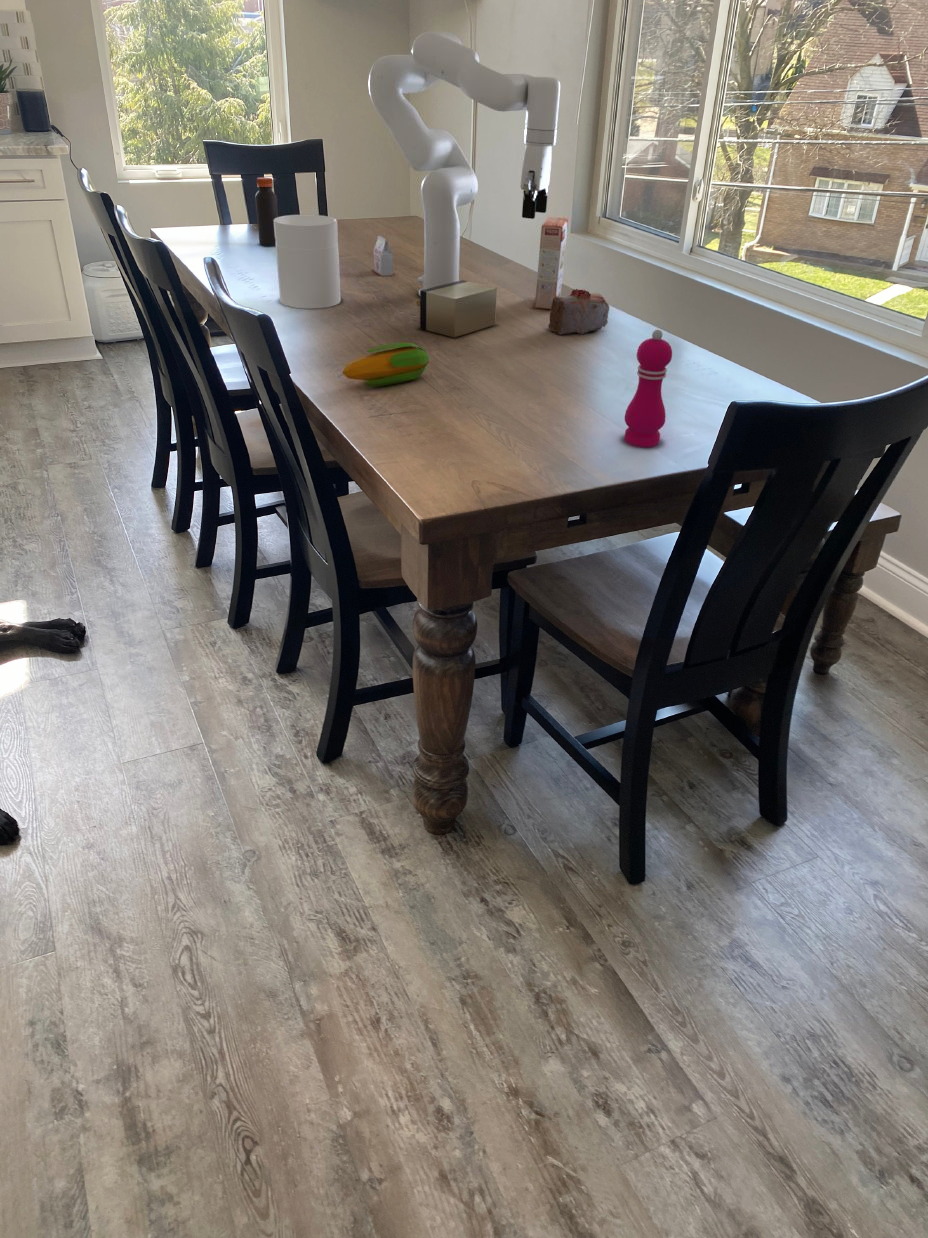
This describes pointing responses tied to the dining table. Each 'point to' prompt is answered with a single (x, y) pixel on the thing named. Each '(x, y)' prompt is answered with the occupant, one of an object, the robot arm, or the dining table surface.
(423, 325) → the box
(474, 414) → the dining table surface
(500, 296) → the dining table surface
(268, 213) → the bottle
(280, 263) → the canister
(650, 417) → the pepper mill
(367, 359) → the corn
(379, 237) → the milk carton
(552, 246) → the cracker box
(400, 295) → the dining table surface
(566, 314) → the food item
